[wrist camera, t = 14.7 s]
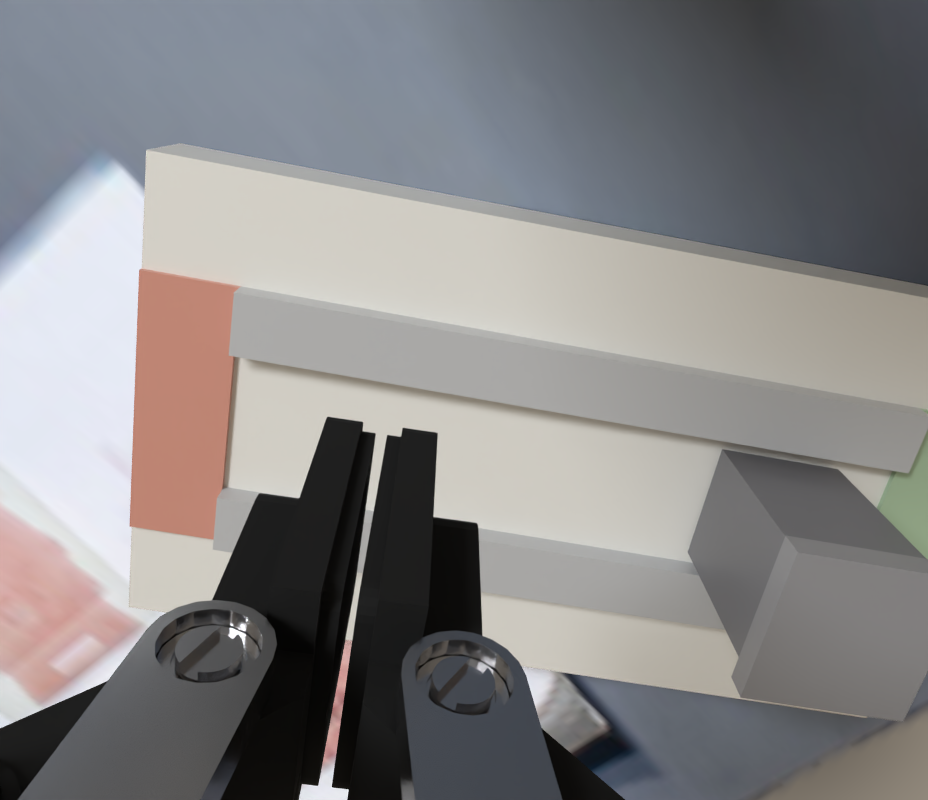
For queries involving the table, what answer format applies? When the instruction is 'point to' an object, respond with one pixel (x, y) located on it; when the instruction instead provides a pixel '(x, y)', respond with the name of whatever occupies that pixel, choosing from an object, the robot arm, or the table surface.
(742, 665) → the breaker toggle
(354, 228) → the slider rail board
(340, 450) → the robot arm
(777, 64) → the table surface
